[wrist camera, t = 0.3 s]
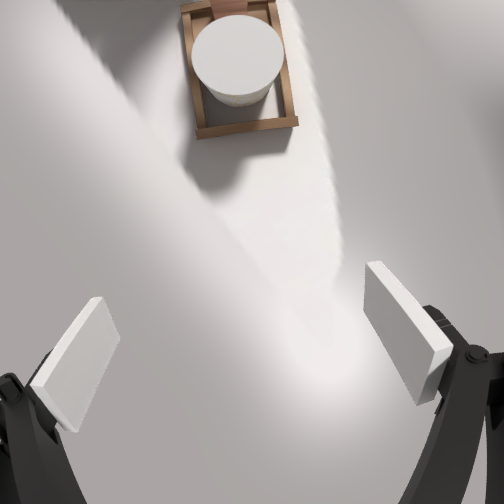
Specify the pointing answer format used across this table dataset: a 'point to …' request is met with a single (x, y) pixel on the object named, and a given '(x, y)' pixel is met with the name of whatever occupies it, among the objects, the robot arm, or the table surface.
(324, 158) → the table surface
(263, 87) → the cup
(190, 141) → the table surface
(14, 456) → the robot arm
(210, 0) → the sled
